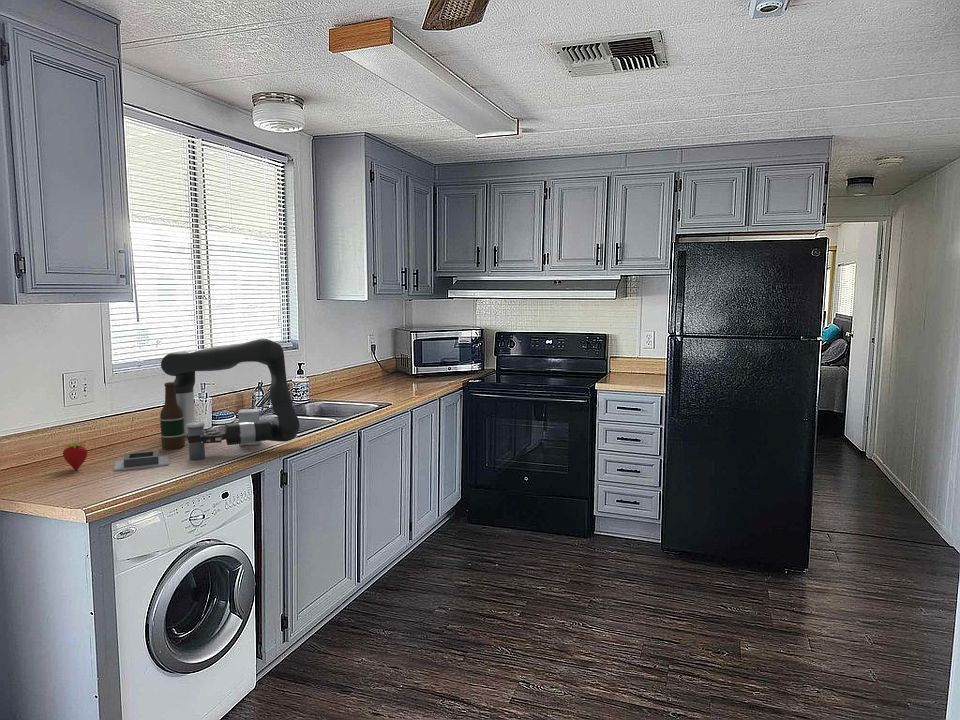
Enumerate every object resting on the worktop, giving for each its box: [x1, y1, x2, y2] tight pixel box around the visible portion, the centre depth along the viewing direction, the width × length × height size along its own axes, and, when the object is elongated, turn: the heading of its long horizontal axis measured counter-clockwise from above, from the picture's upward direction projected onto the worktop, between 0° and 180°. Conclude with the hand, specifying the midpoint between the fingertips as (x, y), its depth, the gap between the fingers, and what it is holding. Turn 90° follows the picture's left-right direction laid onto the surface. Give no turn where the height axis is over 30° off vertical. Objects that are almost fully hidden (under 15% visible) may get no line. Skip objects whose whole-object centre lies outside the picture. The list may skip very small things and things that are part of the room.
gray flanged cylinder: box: [186, 421, 206, 461], centre depth 231 cm, size 6×6×12 cm
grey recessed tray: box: [112, 450, 170, 472], centre depth 224 cm, size 12×16×3 cm
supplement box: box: [237, 408, 261, 447], centre depth 253 cm, size 7×7×13 cm
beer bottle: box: [159, 381, 186, 451], centre depth 248 cm, size 8×8×24 cm
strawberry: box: [62, 438, 88, 470], centre depth 218 cm, size 6×8×10 cm
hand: (187, 438), depth 230 cm, fingers closed on gray flanged cylinder, 5 cm apart
